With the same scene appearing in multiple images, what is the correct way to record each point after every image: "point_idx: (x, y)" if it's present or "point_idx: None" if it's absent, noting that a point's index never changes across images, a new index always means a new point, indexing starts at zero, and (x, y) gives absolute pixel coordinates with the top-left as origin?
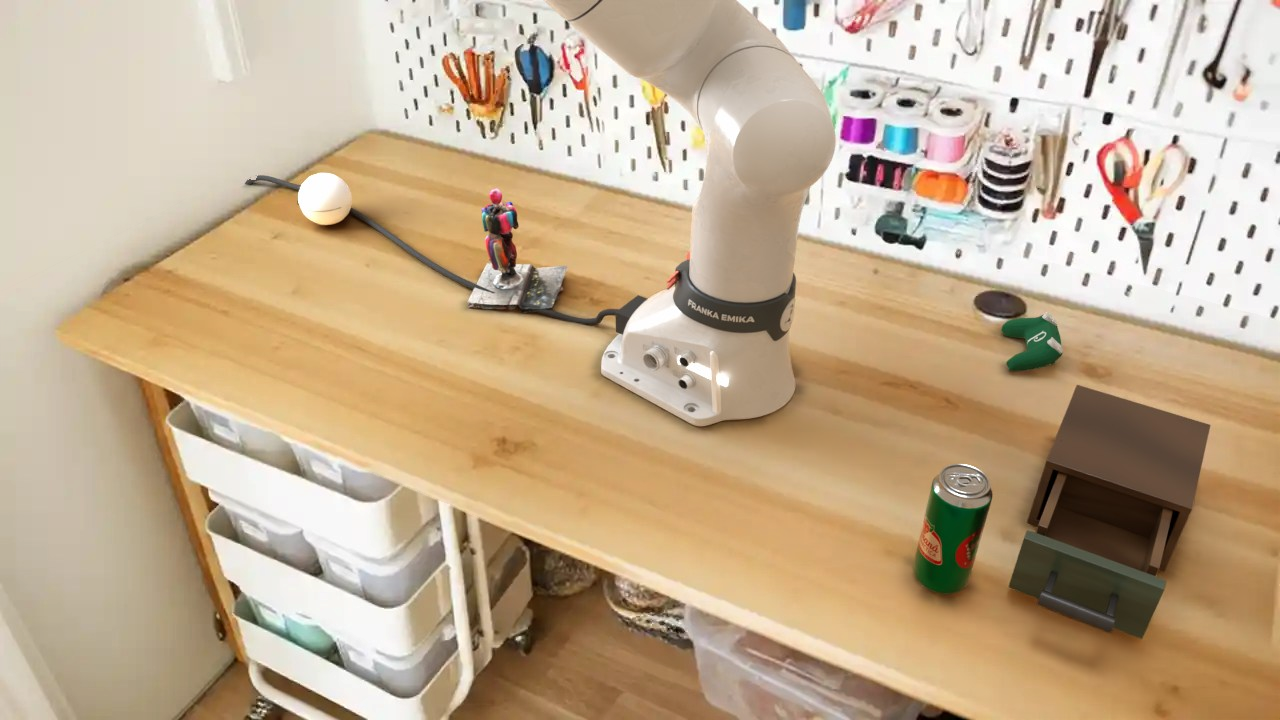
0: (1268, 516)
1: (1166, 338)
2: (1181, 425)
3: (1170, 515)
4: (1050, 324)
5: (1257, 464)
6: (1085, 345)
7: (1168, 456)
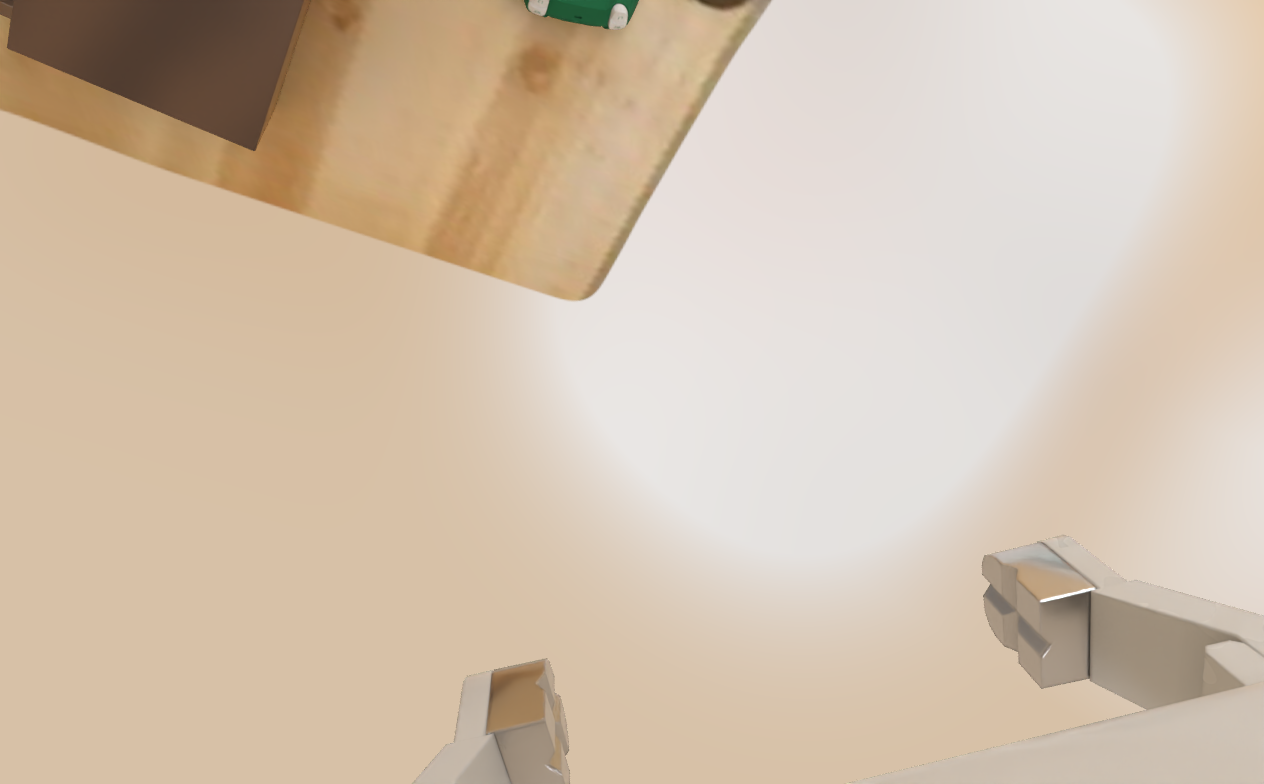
0: (240, 193)
1: (623, 199)
2: (237, 107)
3: (6, 15)
4: (601, 13)
5: (349, 217)
6: (605, 75)
7: (141, 58)
